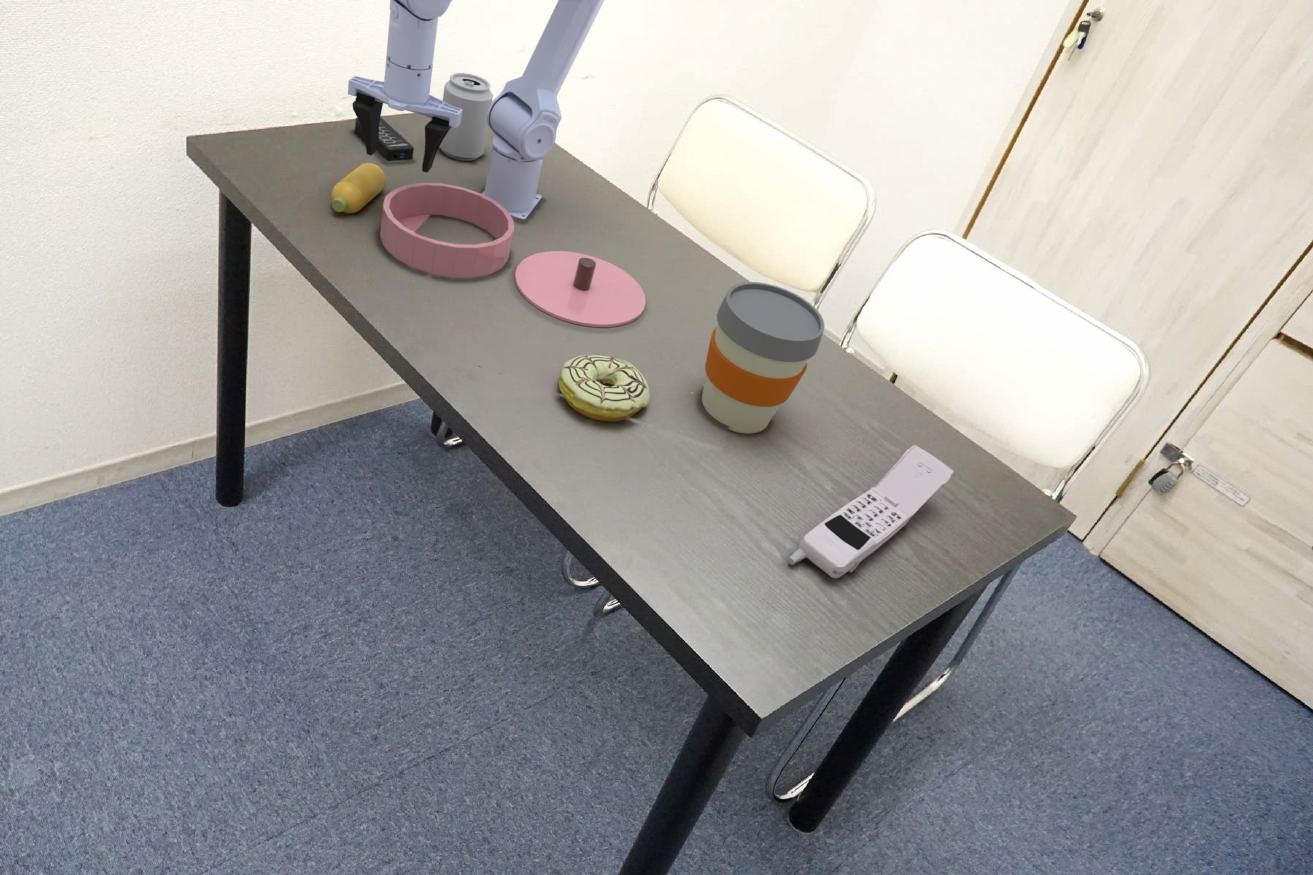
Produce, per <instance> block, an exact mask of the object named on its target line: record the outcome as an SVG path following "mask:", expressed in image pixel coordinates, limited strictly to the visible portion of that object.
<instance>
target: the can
mask: <svg viewBox="0 0 1313 875" xmlns="http://www.w3.org/2000/svg"><path fill="white" fill-rule="evenodd" d="M442 95H443V96H442V101H443V102H446V103H448V104H450V105H452V106H454V107H457V108H460V109H462V110H463V111H462V118H461V123H460V125H459V126H458V127H457V128H454V127H451V128H450V130H449V131H448V133H447V134H446V136H445V138H444V139H443V141H442V143H441V145H440V147H439V149H440V150H441V152H442V154H445V156H447V157H449V158H452V159H454V160H459V161H466V162H467V161H469V162H470V161H474V160H476V159H478V158H480V157H481V156H483V155H484V152H485V146H486V140H487V134H488V129H489V125H488V123H487V111H488V108H489V106H490V104H491V103H492V101H493V98H494V94H493V92H492V91H491V84H490V82H489V81H488V80H487V79H485V78H483V77H482V76H480V75H476V74H472V73H468V72H467V73H466V72H456V73H452V74H451V75H450V76H449V80H448V81H446V82H445V84H444V86H443V94H442Z"/></svg>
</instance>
